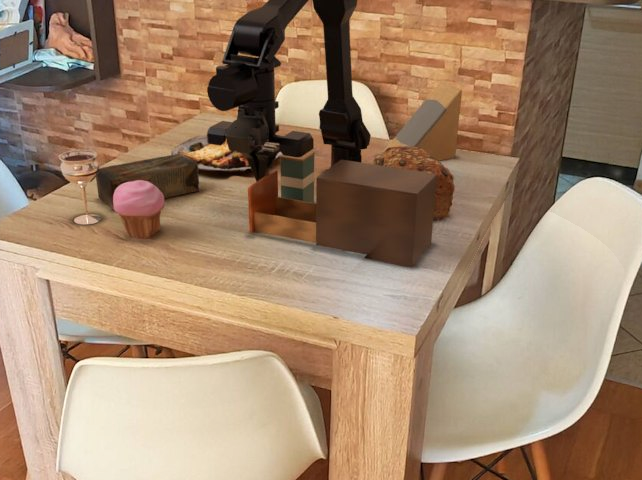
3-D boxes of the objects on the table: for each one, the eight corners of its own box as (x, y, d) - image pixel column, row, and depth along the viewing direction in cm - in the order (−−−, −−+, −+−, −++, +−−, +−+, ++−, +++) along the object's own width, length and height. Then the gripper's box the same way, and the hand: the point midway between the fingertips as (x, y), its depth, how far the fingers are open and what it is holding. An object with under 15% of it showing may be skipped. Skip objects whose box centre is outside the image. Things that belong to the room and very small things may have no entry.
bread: (452, 219, 153) (457, 167, 148) (398, 224, 151) (401, 171, 146) (419, 186, 169) (423, 137, 163) (369, 190, 166) (371, 140, 161)
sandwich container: (377, 156, 185) (380, 87, 176) (434, 147, 190) (440, 80, 182) (397, 167, 178) (401, 96, 170) (455, 157, 184) (462, 88, 176)
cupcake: (152, 248, 142) (146, 193, 136) (108, 242, 144) (100, 187, 139) (175, 229, 149) (170, 176, 143) (133, 223, 151) (126, 170, 146)
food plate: (237, 186, 168) (236, 169, 166) (150, 166, 178) (148, 150, 176) (302, 154, 186) (302, 138, 184) (220, 137, 196) (219, 122, 194)
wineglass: (67, 215, 154) (56, 152, 148) (103, 210, 156) (94, 148, 150) (71, 228, 149) (60, 163, 143) (108, 223, 151) (99, 159, 145)
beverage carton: (201, 191, 165) (199, 159, 162) (113, 212, 156) (108, 178, 152) (183, 180, 171) (180, 149, 167) (96, 200, 161) (91, 167, 158)
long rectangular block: (280, 213, 156) (279, 156, 150) (292, 204, 160) (292, 148, 154) (303, 217, 154) (303, 159, 148) (314, 208, 158) (314, 151, 152)
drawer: (242, 233, 147) (240, 186, 142) (269, 213, 155) (268, 168, 150) (340, 252, 140) (341, 203, 135) (362, 230, 148) (364, 183, 143)
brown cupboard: (315, 249, 142) (316, 177, 135) (339, 227, 150) (341, 159, 143) (411, 267, 136) (417, 193, 129) (431, 244, 144) (437, 173, 137)
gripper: (186, 102, 138) (193, 191, 147) (285, 116, 131) (287, 208, 140) (220, 87, 146) (225, 173, 155) (315, 99, 140) (314, 188, 148)
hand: (261, 185), depth 149 cm, fingers closed
